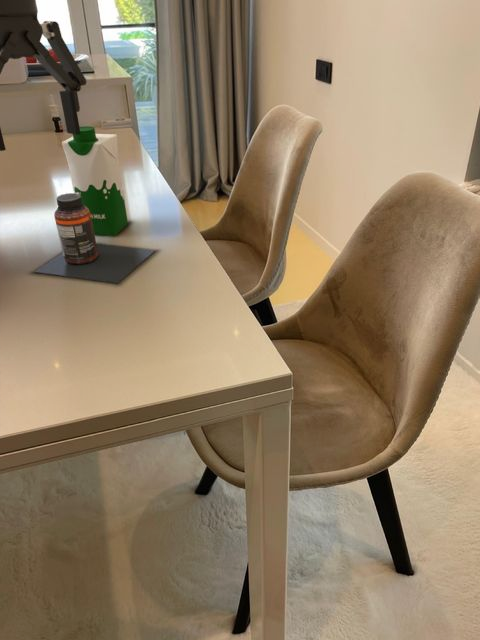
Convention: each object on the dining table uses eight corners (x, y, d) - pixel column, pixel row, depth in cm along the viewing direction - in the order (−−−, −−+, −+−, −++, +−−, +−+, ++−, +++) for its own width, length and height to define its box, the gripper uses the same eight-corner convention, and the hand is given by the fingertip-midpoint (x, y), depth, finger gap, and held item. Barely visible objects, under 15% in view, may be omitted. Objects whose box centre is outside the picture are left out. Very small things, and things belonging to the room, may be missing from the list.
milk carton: (75, 237, 110) (54, 130, 99) (95, 221, 118) (76, 120, 107) (117, 239, 109) (100, 132, 98) (134, 223, 116) (120, 121, 106)
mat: (35, 275, 96) (34, 271, 96) (79, 244, 107) (79, 241, 107) (118, 286, 92) (117, 283, 92) (155, 253, 103) (155, 250, 103)
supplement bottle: (81, 249, 103) (69, 189, 97) (105, 256, 101) (94, 194, 95) (57, 261, 99) (42, 198, 93) (81, 268, 97) (68, 204, 90)
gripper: (-75, -17, 68) (-25, 160, 80) (93, -17, 84) (115, 130, 96) (-101, -17, 72) (-50, 152, 84) (64, -17, 88) (88, 125, 100)
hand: (38, 141), depth 90 cm, fingers open, 13 cm apart
